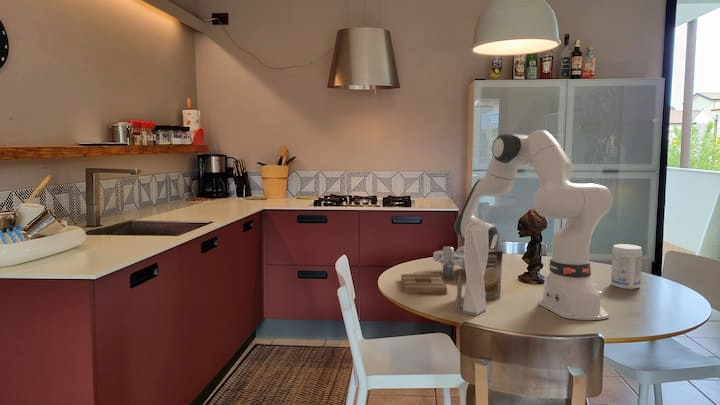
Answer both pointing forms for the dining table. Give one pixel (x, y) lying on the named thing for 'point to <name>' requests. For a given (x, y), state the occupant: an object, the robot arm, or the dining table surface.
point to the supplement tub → (626, 266)
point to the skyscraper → (474, 271)
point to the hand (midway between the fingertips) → (446, 262)
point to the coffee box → (493, 274)
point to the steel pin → (448, 263)
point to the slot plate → (423, 284)
